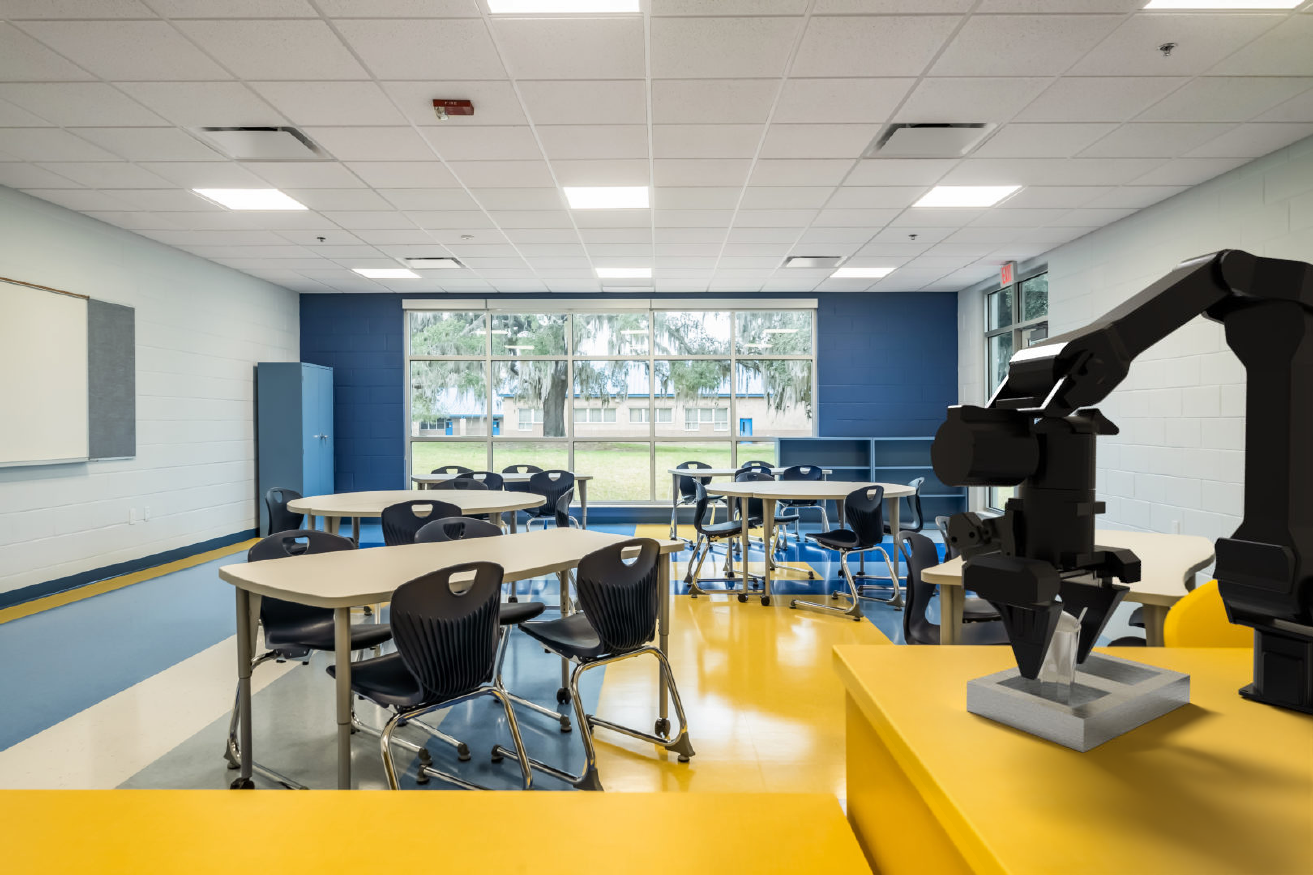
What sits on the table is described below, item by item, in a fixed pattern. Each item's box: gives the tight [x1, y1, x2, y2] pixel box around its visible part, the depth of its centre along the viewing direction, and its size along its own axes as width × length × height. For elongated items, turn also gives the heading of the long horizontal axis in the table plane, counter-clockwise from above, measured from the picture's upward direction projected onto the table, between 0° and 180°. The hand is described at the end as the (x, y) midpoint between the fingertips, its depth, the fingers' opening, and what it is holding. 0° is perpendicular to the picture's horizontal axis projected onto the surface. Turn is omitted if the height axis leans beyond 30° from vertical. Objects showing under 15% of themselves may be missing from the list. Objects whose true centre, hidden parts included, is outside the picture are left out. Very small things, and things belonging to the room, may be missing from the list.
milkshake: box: [1024, 607, 1088, 707], centre depth 59 cm, size 4×5×10 cm
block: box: [965, 650, 1191, 753], centre depth 61 cm, size 20×10×2 cm, turn 124°
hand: (1053, 670), depth 59 cm, fingers open, 8 cm apart
